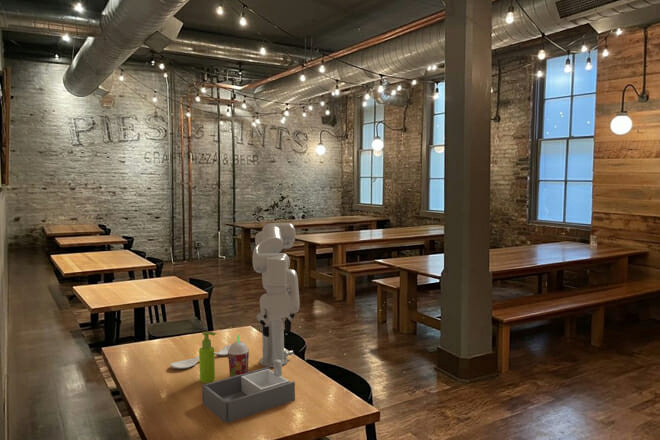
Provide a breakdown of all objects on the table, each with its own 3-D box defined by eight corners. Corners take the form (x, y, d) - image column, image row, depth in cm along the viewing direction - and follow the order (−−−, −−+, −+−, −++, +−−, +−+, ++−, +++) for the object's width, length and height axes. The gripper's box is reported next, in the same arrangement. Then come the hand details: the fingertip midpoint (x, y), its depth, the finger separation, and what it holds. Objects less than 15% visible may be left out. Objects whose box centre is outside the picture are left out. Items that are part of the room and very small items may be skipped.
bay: (268, 383, 202) (267, 366, 201) (294, 400, 187) (294, 382, 186) (202, 403, 184) (201, 385, 184) (226, 423, 170) (225, 403, 169)
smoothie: (253, 381, 205) (252, 333, 203) (243, 389, 197) (242, 339, 195) (235, 378, 207) (234, 331, 206) (224, 386, 199) (223, 337, 198)
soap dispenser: (213, 383, 202) (212, 335, 200) (197, 382, 204) (196, 334, 202) (219, 377, 208) (218, 330, 206) (204, 376, 209) (202, 329, 207)
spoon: (239, 354, 235) (239, 347, 235) (176, 374, 213) (176, 366, 213) (229, 350, 242) (228, 343, 241) (166, 368, 219) (166, 360, 219)
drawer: (270, 382, 200) (270, 354, 199) (292, 395, 188) (291, 365, 187) (241, 391, 192) (240, 362, 191) (261, 404, 180) (261, 374, 179)
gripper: (290, 284, 198) (290, 326, 200) (251, 291, 188) (252, 335, 189) (301, 287, 192) (301, 331, 194) (261, 295, 182) (262, 340, 183)
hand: (277, 333), depth 192 cm, fingers open, 9 cm apart
